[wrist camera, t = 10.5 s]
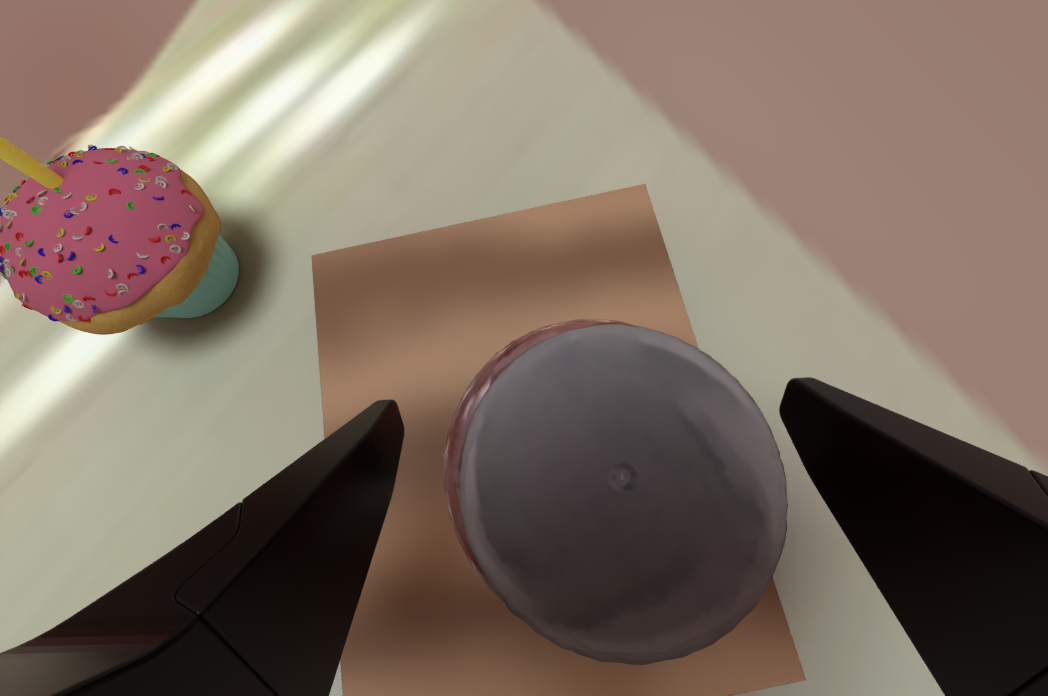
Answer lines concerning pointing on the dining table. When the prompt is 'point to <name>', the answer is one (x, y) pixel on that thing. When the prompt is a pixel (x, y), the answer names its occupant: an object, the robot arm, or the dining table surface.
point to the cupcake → (112, 240)
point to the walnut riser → (427, 410)
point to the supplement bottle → (616, 490)
